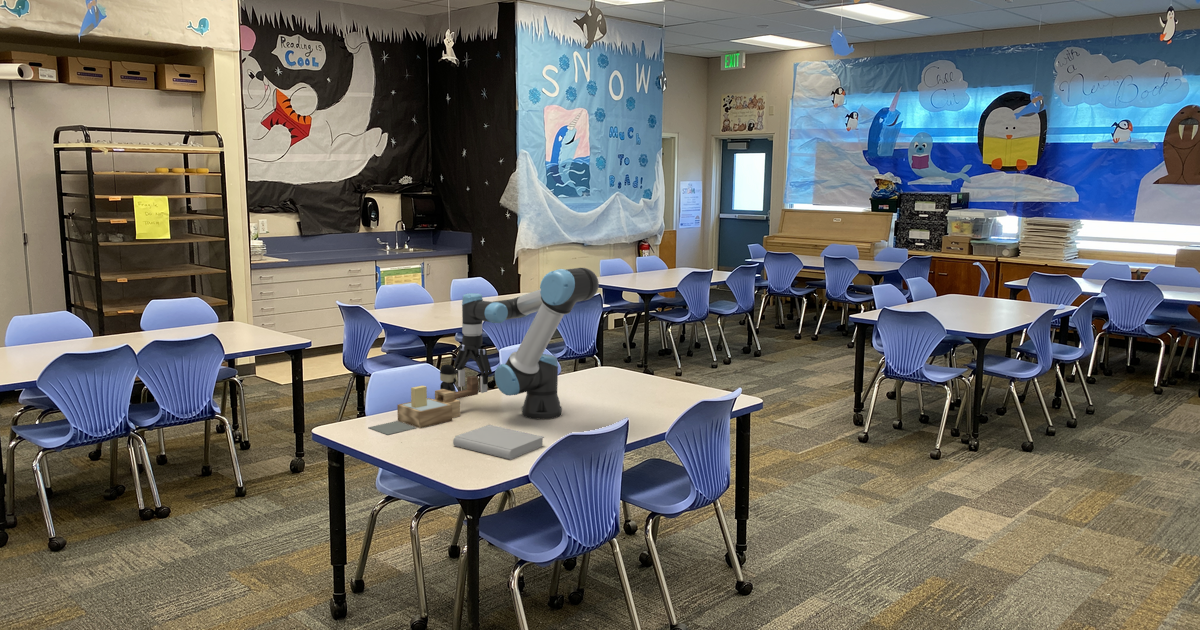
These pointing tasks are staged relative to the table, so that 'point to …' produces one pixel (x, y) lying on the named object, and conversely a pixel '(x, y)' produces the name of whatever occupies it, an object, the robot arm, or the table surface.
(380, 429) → the mat
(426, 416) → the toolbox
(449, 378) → the toy
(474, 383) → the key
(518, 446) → the book
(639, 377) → the table surface
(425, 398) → the lid
